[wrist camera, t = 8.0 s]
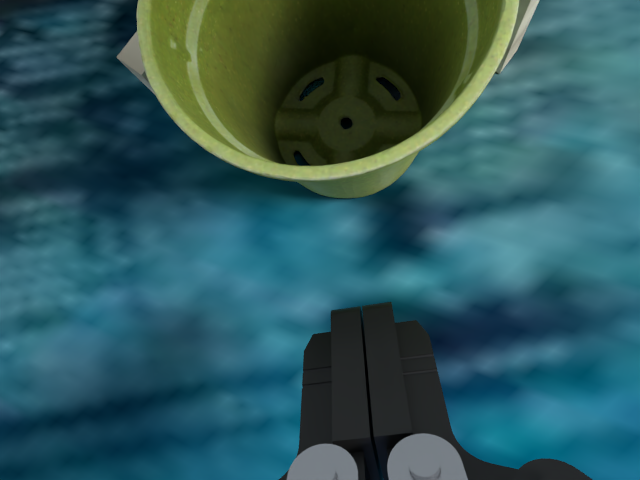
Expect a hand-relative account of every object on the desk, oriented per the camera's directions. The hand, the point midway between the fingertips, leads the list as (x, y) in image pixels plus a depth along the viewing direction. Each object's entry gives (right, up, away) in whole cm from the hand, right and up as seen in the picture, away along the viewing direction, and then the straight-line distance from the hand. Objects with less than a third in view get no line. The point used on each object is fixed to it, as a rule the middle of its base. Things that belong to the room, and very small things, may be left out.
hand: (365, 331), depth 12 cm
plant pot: (0, +7, +8) cm, 11 cm away
